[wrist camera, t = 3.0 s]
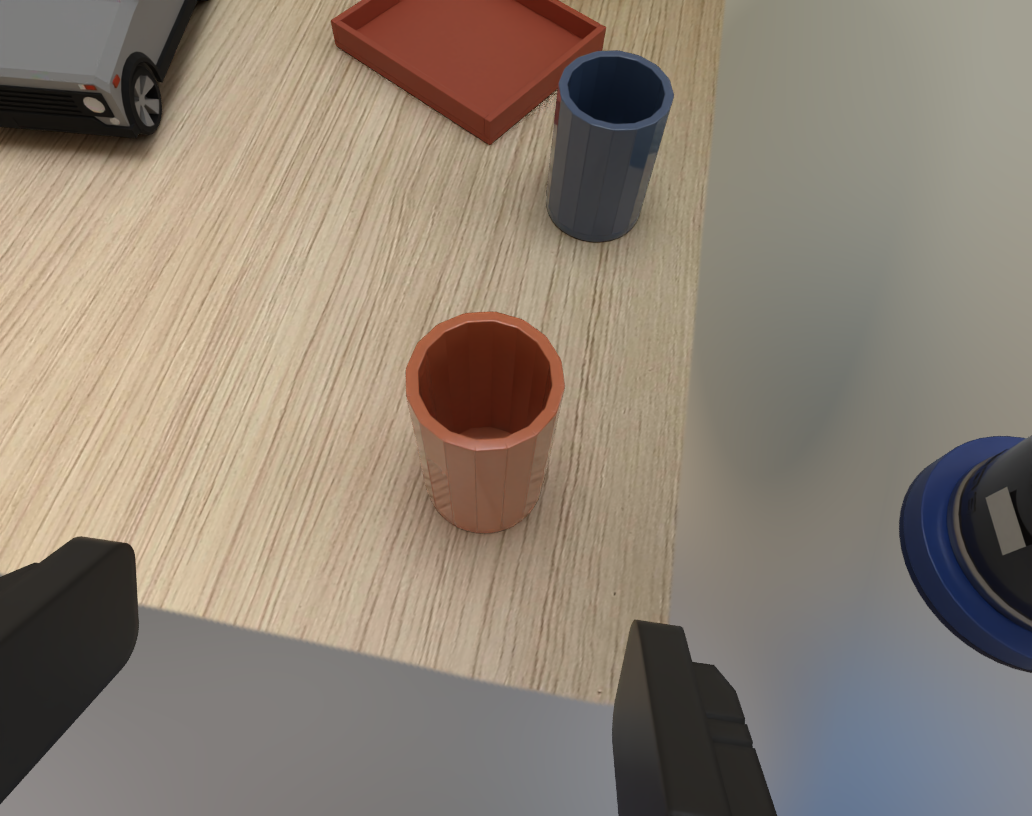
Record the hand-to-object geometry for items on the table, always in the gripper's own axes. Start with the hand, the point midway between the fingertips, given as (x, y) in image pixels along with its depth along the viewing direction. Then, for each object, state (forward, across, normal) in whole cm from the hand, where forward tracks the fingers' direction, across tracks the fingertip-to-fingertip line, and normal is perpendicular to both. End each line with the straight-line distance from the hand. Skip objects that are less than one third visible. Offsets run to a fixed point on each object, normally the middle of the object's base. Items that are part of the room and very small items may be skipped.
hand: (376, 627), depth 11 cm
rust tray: (+48, +6, -15) cm, 51 cm away
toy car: (+46, +31, -12) cm, 57 cm away
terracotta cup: (+25, 0, +8) cm, 26 cm away
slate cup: (+39, -4, -6) cm, 40 cm away
